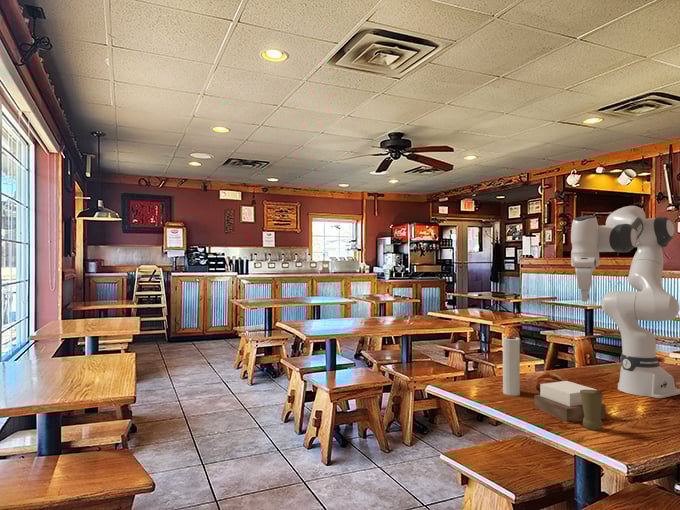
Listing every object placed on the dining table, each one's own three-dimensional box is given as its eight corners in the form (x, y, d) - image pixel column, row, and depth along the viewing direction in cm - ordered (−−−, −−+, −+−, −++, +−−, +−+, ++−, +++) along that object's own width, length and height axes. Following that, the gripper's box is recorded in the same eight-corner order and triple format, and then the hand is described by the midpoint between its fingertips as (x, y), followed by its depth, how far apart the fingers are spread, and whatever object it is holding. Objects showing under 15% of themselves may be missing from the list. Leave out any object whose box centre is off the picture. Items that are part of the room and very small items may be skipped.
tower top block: (566, 392, 161) (566, 380, 161) (597, 402, 150) (597, 389, 150) (540, 395, 157) (540, 384, 157) (569, 406, 146) (569, 393, 146)
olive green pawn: (598, 389, 141) (600, 426, 141) (577, 389, 143) (578, 425, 142) (605, 395, 135) (607, 433, 135) (583, 394, 137) (584, 431, 136)
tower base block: (570, 406, 162) (570, 391, 162) (605, 420, 147) (605, 404, 148) (534, 409, 158) (534, 395, 158) (566, 424, 143) (566, 408, 144)
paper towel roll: (508, 397, 170) (508, 339, 170) (499, 392, 176) (499, 336, 176) (526, 396, 172) (525, 338, 172) (516, 391, 178) (516, 336, 178)
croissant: (554, 391, 187) (543, 373, 190) (577, 382, 181) (565, 363, 184) (533, 402, 172) (522, 382, 175) (557, 392, 166) (545, 371, 169)
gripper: (576, 260, 175) (577, 297, 175) (573, 262, 157) (573, 302, 157) (595, 260, 172) (596, 297, 172) (594, 262, 154) (594, 303, 154)
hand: (585, 300), depth 164 cm, fingers open, 8 cm apart
